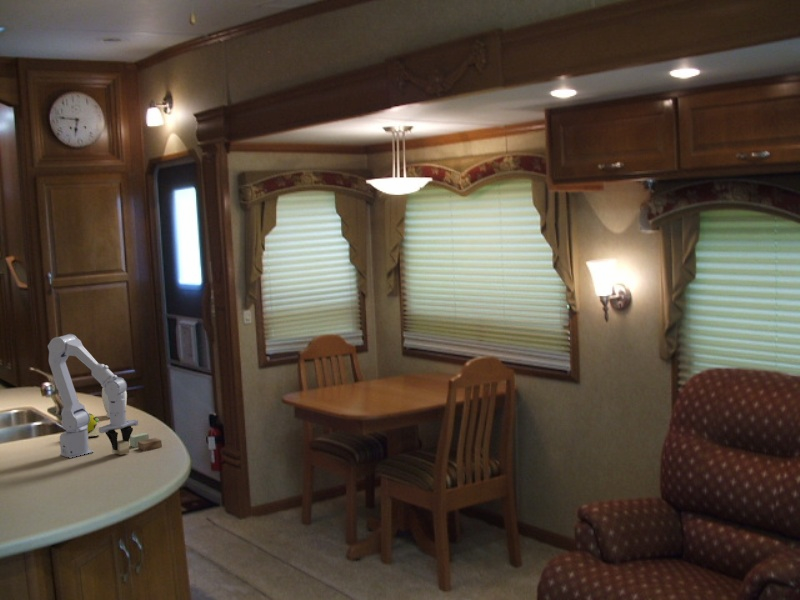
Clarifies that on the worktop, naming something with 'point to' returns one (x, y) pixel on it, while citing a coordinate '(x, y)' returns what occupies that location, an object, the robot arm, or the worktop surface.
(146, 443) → the walnut slab
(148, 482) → the worktop surface
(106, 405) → the jar
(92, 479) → the worktop surface
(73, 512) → the worktop surface
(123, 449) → the maple brick
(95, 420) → the toy
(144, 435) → the sage brick
